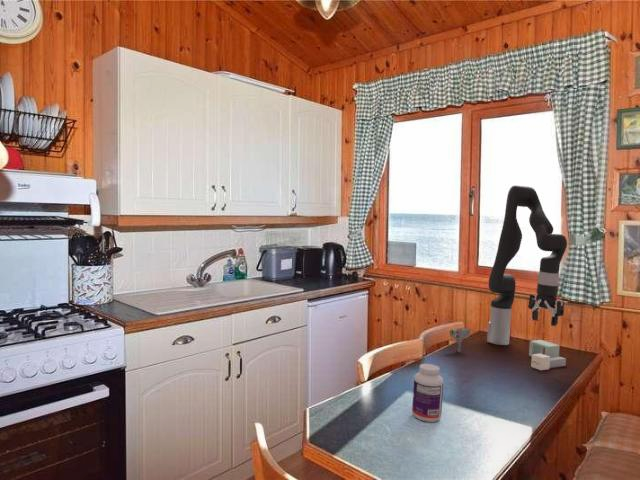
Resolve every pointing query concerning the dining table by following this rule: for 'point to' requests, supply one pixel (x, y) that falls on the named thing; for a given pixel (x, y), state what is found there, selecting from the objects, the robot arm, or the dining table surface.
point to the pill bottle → (427, 393)
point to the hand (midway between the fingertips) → (544, 322)
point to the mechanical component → (459, 336)
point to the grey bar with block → (546, 361)
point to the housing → (550, 348)
